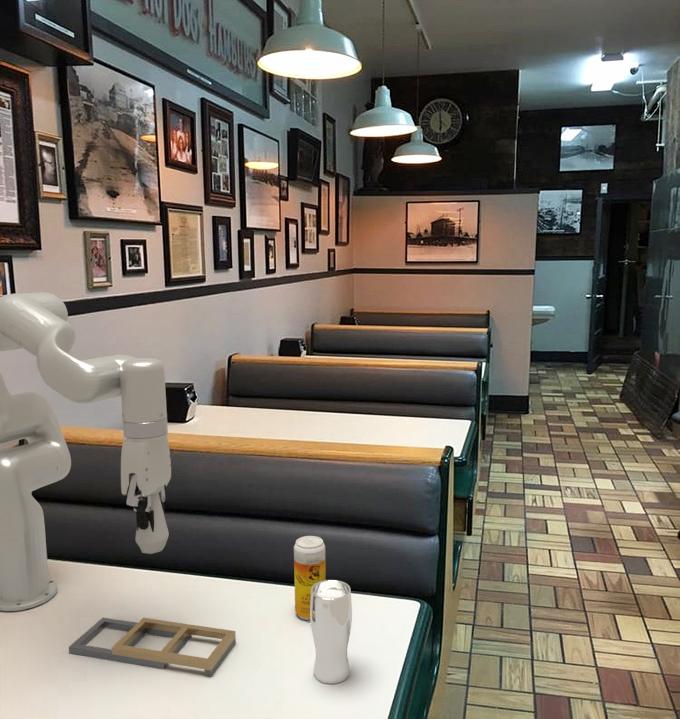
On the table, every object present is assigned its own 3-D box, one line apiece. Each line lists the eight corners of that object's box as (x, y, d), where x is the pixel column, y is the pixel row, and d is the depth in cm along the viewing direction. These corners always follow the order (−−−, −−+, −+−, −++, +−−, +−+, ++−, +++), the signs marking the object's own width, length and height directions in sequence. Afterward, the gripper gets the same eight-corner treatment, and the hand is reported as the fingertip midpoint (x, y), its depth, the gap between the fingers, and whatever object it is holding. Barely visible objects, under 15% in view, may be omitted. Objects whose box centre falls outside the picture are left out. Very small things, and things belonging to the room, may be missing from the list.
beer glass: (338, 691, 104) (337, 604, 101) (302, 677, 107) (301, 592, 105) (359, 668, 109) (359, 585, 107) (325, 655, 113) (324, 575, 111)
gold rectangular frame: (112, 660, 112) (111, 647, 112) (143, 629, 122) (143, 617, 121) (211, 677, 107) (210, 663, 107) (235, 643, 117) (235, 631, 117)
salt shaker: (173, 542, 119) (170, 474, 118) (163, 556, 114) (159, 485, 112) (143, 541, 120) (139, 474, 118) (130, 555, 114) (126, 485, 112)
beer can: (302, 625, 123) (301, 550, 121) (290, 610, 128) (288, 538, 126) (331, 616, 126) (330, 544, 123) (317, 602, 131) (316, 532, 129)
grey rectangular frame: (69, 653, 114) (68, 646, 114) (103, 623, 124) (102, 617, 124) (164, 669, 110) (163, 662, 109) (191, 636, 119) (191, 630, 119)
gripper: (150, 417, 122) (155, 509, 125) (99, 439, 107) (106, 544, 109) (186, 418, 121) (190, 512, 123) (140, 441, 105) (146, 548, 108)
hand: (151, 526), depth 116 cm, fingers closed on salt shaker, 3 cm apart
